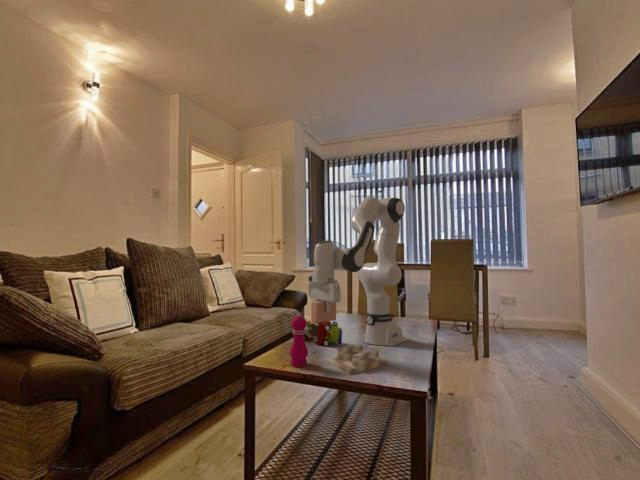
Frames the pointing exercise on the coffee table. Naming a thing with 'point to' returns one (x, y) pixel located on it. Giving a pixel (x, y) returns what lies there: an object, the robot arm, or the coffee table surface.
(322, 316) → the upright pink tile
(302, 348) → the pepper mill
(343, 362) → the bookend rack
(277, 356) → the coffee table surface
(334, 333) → the robot toy
